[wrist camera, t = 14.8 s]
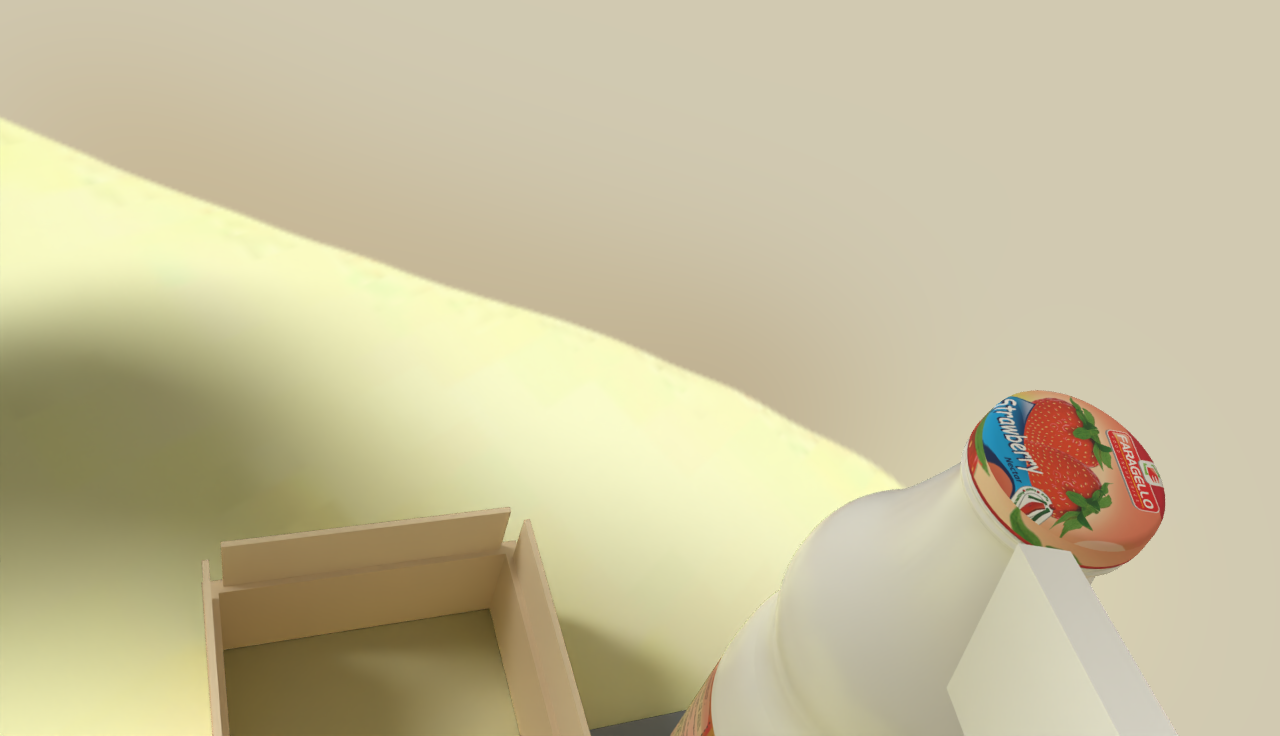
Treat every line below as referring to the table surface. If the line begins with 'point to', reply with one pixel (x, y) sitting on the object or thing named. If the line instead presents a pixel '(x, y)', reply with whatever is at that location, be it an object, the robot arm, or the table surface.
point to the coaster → (643, 726)
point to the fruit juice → (927, 576)
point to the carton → (398, 600)
